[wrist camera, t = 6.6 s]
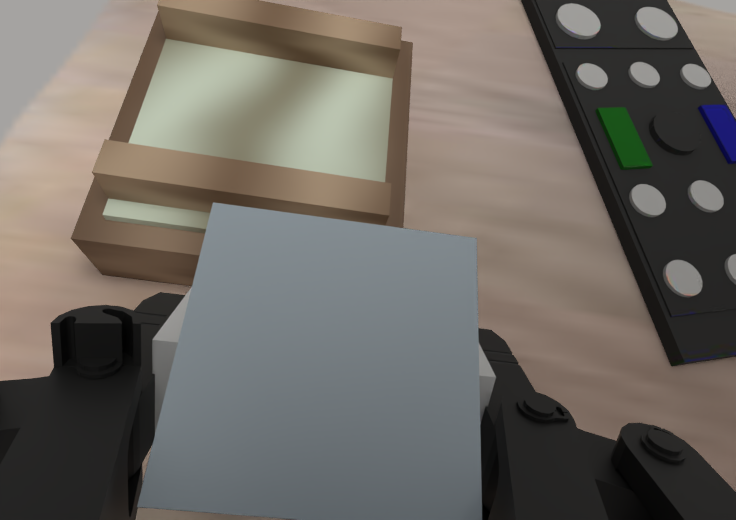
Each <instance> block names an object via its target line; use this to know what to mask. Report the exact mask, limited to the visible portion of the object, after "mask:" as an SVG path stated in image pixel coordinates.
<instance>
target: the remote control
mask: <svg viewBox="0 0 736 520" xmlns="http://www.w3.org/2000/svg"><path fill="white" fill-rule="evenodd" d="M521 1H522V4H523V6H524V8H525V11H526V13H527V16H528V18H529V21H530V23H531V25H532V28H533V30H534V33H535V35H536V38H537V40H538V43H539V45H540V47H541V50H542V52H543V55H544V57H545V60H546V62H547V64H548V67H549V69H550V72H551V74H552V77H553V79H554V81H555V84H556V86H557V89H558V91H559V94H560V96H561V99H562V101H563V103H564V106H565V108H566V111H567V113H568V116H569V118H570V120H571V123H572V125H573V128H574V130H575V133H576V135H577V138H578V140H579V142H580V145H581V147H582V150H583V152H584V155H585V157H586V159H587V162H588V164H589V167H590V169H591V172H592V174H593V176H594V179H595V181H596V184H597V186H598V189H599V191H600V194H601V196H602V198H603V201H604V203H605V206H606V208H607V211H608V213H609V215H610V218H611V220H612V223H613V225H614V228H615V230H616V233H617V235H618V237H619V240H620V242H621V245H622V247H623V250H624V252H625V254H626V257H627V259H628V262H629V264H630V267H631V269H632V271H633V274H634V276H635V279H636V281H637V284H638V286H639V289H640V291H641V293H642V296H643V298H644V301H645V303H646V306H647V308H648V310H649V313H650V315H651V318H652V320H653V323H654V325H655V328H656V330H657V332H658V335H659V337H660V340H661V342H662V345H663V347H664V349H665V352H666V354H667V357H668V359H669V362H670V364H671V366H676V365H683V364H689V363H696V362H702V361H709V360H715V359H722V358H728V357H735V356H736V119H735V117H734V116H733V114H732V112H731V110H730V109H729V107H728V105H727V104H726V102H725V100H724V98H723V97H722V95H721V93H720V91H719V90H718V88H717V86H716V85H715V83H714V81H713V79H712V78H711V76H710V74H709V72H708V71H707V69H706V67H705V66H704V64H703V62H702V60H701V59H700V57H699V55H698V53H697V52H696V50H695V48H694V47H693V45H692V43H691V41H690V40H689V38H688V36H687V34H686V33H685V31H684V29H683V27H682V26H681V24H680V22H679V21H678V19H677V17H676V15H675V14H674V12H673V10H672V8H671V7H670V5H669V3H668V2H667V0H521Z"/></svg>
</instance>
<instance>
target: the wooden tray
mask: <svg viewBox="0 0 736 520" xmlns="http://www.w3.org/2000/svg"><path fill="white" fill-rule="evenodd" d="M157 6H158V10H159V11H158V14H157V16H156V19H155V21H154V24H153V27H152V29H151V32H150V34H149V37H148V40H147V42H146V45H145V47H144V50H143V53H142V55H141V58H140V60H139V63H138V66H137V68H136V71H135V73H134V76H133V78H132V81H131V84H130V86H129V89H128V91H127V94H126V97H125V99H124V102H123V104H122V107H121V110H120V112H119V115H118V117H117V120H116V123H115V125H114V128H113V130H112V133H111V136H110V138H109V140H104V143H103V145H102V148H101V151H100V153H99V156H98V158H97V161H96V163H95V166H94V168H93V171H92V173H93V175H94V176H95V177H94V180H93V182H92V185H91V188H90V190H89V193H88V195H87V198H86V201H85V203H84V206H83V208H82V211H81V213H80V216H79V219H78V221H77V224H76V226H75V229H74V232H73V234H72V237H71V239H72V240H73V241H74V243H75V244H76V245H77V246H78V247H79V248H80V249H81V251H82V252H83V253H84V254H85V255H86V256H87V257H88V259H89V260H90V261H91V262H92V263H93V264H94V265H95V267H96V268H97V269H98V270H99V271H100V272H101V273H102V275H109V276H117V277H125V278H133V279H141V280H149V281H157V282H165V283H173V284H181V285H189V286H192V284H193V280H194V276H195V272H196V268H197V264H198V260H199V256H200V252H201V248H202V244H203V240H204V236H205V232H206V228H207V224H208V220H209V216H210V212H211V208H212V204H213V202H214V203H221V204H229V205H236V206H243V207H251V208H258V209H265V210H273V211H280V212H288V213H295V214H302V215H310V216H317V217H324V218H332V219H339V220H347V221H354V222H361V223H369V224H376V225H383V226H391V227H398V228H403V221H404V202H405V182H406V163H407V144H408V124H409V105H410V85H411V66H412V47H413V43H412V42H406V41H401V32H402V27H398V26H392V25H387V24H382V23H376V22H371V21H366V20H360V19H355V18H350V17H344V16H339V15H334V14H328V13H323V12H318V11H313V10H307V9H302V8H297V7H291V6H286V5H281V4H275V3H270V2H265V1H259V0H159V2H158V4H157Z"/></svg>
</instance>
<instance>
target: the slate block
mask: <svg viewBox="0 0 736 520" xmlns="http://www.w3.org/2000/svg"><path fill="white" fill-rule="evenodd" d="M137 507H142V508H154V509H167V510H180V511H193V512H205V513H218V514H231V515H244V516H256V517H269V518H282V519H295V520H482V486H481V436H480V386H479V336H478V286H477V238H472V237H465V236H457V235H450V234H442V233H435V232H428V231H420V230H413V229H406V228H398V227H391V226H383V225H376V224H369V223H361V222H354V221H347V220H339V219H332V218H324V217H317V216H310V215H302V214H295V213H288V212H280V211H273V210H265V209H258V208H251V207H243V206H236V205H229V204H221V203H214V202H213V204H212V208H211V212H210V216H209V220H208V224H207V228H206V232H205V236H204V240H203V244H202V248H201V252H200V256H199V260H198V264H197V268H196V272H195V276H194V280H193V284H192V288H191V292H190V296H189V300H188V304H187V308H186V312H185V316H184V320H183V324H182V328H181V332H180V336H179V340H178V344H177V348H176V352H175V356H174V360H173V364H172V368H171V372H170V376H169V380H168V384H167V388H166V392H165V396H164V401H163V405H162V409H161V413H160V417H159V421H158V425H157V429H156V433H155V437H154V441H153V445H152V449H151V453H150V457H149V461H148V465H147V469H146V473H145V477H144V481H143V485H142V489H141V493H140V497H139V501H138V505H137Z"/></svg>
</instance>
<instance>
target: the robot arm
mask: <svg viewBox="0 0 736 520" xmlns="http://www.w3.org/2000/svg"><path fill="white" fill-rule="evenodd" d="M191 288H192V287H191ZM190 292H191V289H190V290H189V291H188V293H187V294H186V295H179V294H170V293H162V292H160V293H158V294H156V295H154V296H152V297H150V298H148V299H145V300H143V301H142V302H141V303H140V304H139V306H138V307H137V308H136V309H135V310H134V311H133V310H130V309H127V308H124V307H119V306H109V305H100V306H88V307H83V308H79V309H74V310H71V311H69V312H66V313H64V314H62V315H59V316H58V317H57V318H56V319H55V320H54V321H52V322H51V334H52V347H53V359H54V368H53V370H52V372H51V374H50V376H47V377H40V378H33V379H21V380H8V381H0V520H135V519H136V513H137V508H138V507H137V505H138V501H139V497H140V493H141V488H142V462H143V461H144V459H145V457H146V455H147V453H148V451H149V449H150V448H151V446H152V445H153V441H154V437H155V433H156V429H157V425H158V421H159V417H160V413H161V409H162V405H163V401H164V396H165V392H166V388H167V384H168V380H169V376H170V372H171V368H172V364H173V360H174V356H175V352H176V348H177V344H178V340H179V336H180V332H181V328H182V324H183V320H184V316H185V312H186V308H187V304H188V300H189V296H190ZM478 336H479V386H480V436H481V486H482V520H736V492H735V491H734V490H733V489H732V488H731V487H730V486H729V485H728V484H727V483H726V482H725V480H724V479H723V478H722V477H721V476H720V475H719V474H718V473H717V472H716V471H715V470H714V469H713V468H712V467H711V466H710V465H709V464H708V463H707V462H706V461H705V460H704V458H703V457H702V456H701V455H700V454H699V453H698V452H697V451H696V450H695V449H693V448H692V447H691V446H690V445H689V444H687V443H686V442H685V441H684V440H682V439H680V438H679V437H677V436H675V435H674V434H673V433H671V432H670V431H667V430H665V429H661V428H660V427H657V426H654V425H648V424H643V423H628V424H627V425H625V426H624V427H622V429H621V431H620V434H619V436H618V439H617V441H615V440H612V439H608V438H605V437H602V436H599V435H595V434H592V433H589V432H586V431H583V430H580V429H578V428H577V427H576V424H575V421H574V419H573V417H572V416H571V414H570V412H569V411H568V410H567V409H566V408H565V407H563V406H562V405H561V404H560V403H559V402H557V401H555V400H553V399H552V398H550V397H548V396H546V395H543V394H540V393H537V392H536V391H535V390H534V388H533V387H532V385H531V383H530V382H529V380H528V378H527V377H526V375H525V373H524V372H523V370H522V368H521V367H520V365H518V362H517V360H516V358H515V357H514V355H512V352H511V350H510V349H509V347H508V345H507V344H506V342H505V341H504V340H503V339H502V338H501V337H499V336H498V335H497V334H495V333H494V332H493V331H492V330H488V329H480V328H478Z"/></svg>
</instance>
